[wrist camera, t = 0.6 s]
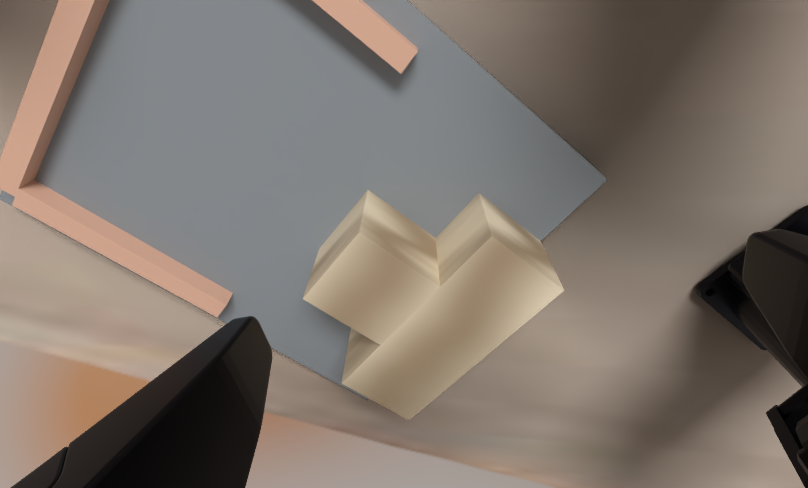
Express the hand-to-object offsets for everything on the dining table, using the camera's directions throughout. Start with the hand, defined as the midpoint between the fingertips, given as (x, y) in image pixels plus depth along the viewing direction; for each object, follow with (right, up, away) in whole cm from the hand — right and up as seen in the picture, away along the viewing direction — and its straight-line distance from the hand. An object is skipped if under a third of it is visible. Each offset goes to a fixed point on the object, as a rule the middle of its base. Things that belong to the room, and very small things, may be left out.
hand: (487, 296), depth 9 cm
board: (-6, +4, +13) cm, 15 cm away
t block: (-1, 0, +14) cm, 15 cm away
